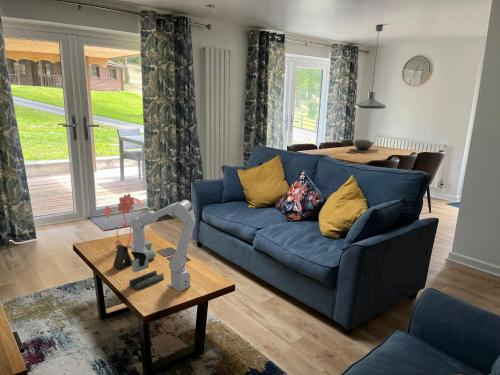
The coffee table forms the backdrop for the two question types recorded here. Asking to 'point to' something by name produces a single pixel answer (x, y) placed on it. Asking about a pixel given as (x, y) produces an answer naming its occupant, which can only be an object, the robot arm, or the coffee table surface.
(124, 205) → the figurine
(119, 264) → the phone stand
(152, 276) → the floor track
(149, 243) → the air freshener
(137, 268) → the door panel
